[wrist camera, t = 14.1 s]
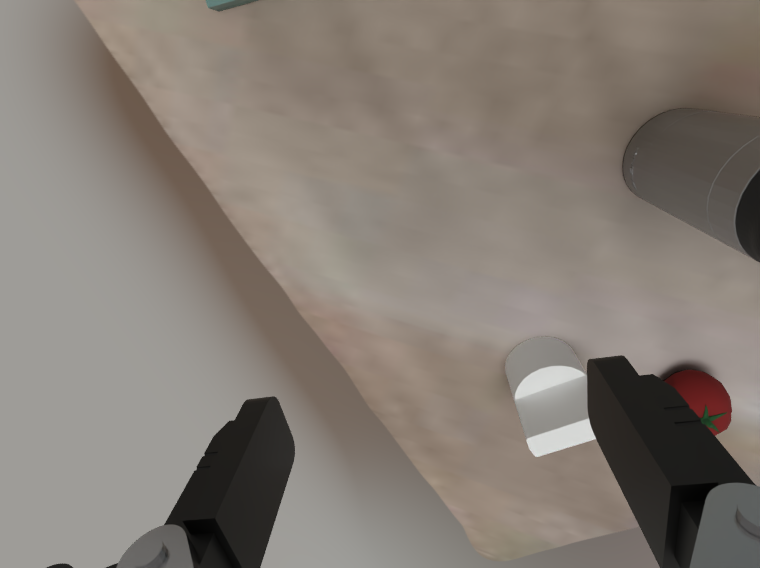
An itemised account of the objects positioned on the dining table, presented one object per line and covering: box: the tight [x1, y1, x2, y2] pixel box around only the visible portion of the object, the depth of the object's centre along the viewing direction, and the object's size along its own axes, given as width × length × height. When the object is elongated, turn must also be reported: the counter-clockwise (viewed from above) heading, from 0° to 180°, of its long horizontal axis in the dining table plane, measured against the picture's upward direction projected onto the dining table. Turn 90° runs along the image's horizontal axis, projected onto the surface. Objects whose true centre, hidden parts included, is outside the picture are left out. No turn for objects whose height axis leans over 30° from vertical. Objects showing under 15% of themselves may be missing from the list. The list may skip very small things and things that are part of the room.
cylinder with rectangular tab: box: [505, 336, 596, 457], centre depth 50 cm, size 9×9×12 cm
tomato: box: [664, 369, 732, 436], centre depth 52 cm, size 8×8×7 cm
